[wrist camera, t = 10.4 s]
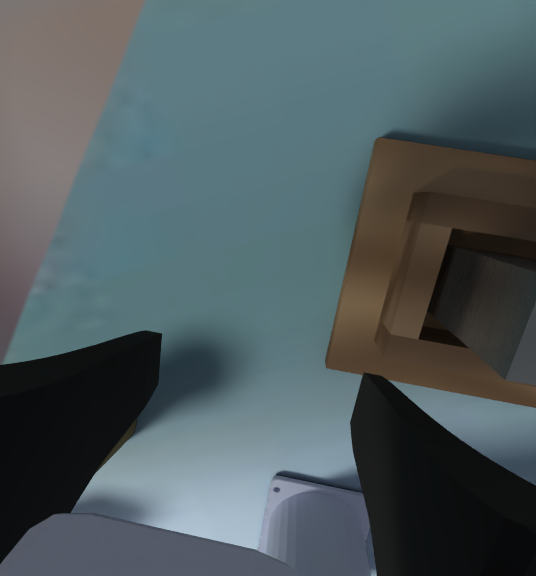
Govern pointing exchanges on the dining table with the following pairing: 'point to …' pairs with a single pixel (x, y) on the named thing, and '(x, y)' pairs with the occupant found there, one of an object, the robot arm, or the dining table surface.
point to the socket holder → (427, 262)
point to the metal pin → (490, 308)
